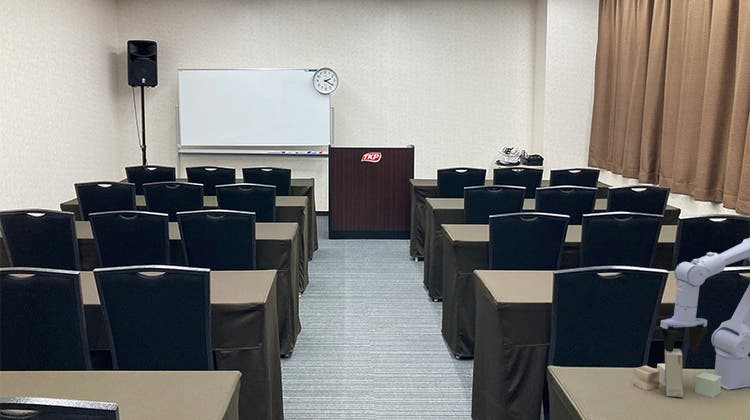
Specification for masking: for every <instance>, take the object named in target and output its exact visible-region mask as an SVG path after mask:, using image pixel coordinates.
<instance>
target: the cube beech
mask: <svg viewBox="0 0 750 420" xmlns="http://www.w3.org/2000/svg"><path fill="white" fill-rule="evenodd" d="M659 377H660V371H658V370H657V368H653V367H651V366H648V365H643V366H639V367H634V368H633V377H632V385H633V384H635V385H637V386H639V387H638V388H640V387H641V388H640V389H642V388H643V389H642V390H644V389H646V390H647V391H650V390H649V389H651V390H654V388H655V389H659V387H660V382H659ZM635 385H634V386H635ZM637 386H636V387H637ZM646 390H645V391H646Z"/></svg>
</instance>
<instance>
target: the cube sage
mask: <svg viewBox="0 0 750 420" xmlns="http://www.w3.org/2000/svg"><path fill="white" fill-rule="evenodd" d="M721 388H722V387H721V376H718V375H715V373H714V374H713V373H711V372H710V373H709V372H706V371H702V372H701V373H699V374H697V375H696V377H695V388H694V393H695V394H697V395H701V396H705V397H709V398H712V399H714V398H716V396H718V395H720V394H721Z"/></svg>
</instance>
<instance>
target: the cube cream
mask: <svg viewBox="0 0 750 420" xmlns="http://www.w3.org/2000/svg"><path fill="white" fill-rule="evenodd" d="M656 370H658V371H660V377H659V384H661V385H662V386H663V385H664V386H663V387H665V363H657V365H656Z"/></svg>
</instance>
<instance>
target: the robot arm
mask: <svg viewBox="0 0 750 420" xmlns="http://www.w3.org/2000/svg"><path fill="white" fill-rule="evenodd" d="M745 259H748V261H749V262H750V237H748V238H745V239H743V241H741V243H740V244H737V245H735V246H733V247H731V248H729V249H727V250H725V251H723V252H721V253H717V252H711V251H709V252H706V255H704V256H701V257H700V258H694V259H692V260H691V261H690V262H688V261H683V262H682V261H681V263H679V264H677V266H676V268H675V270H673V276H674V278H675V280H676V283H675V285H676V294H675V302H674V303H675V304H674V311H673V316H671V318H666V319H661V320H660V324H659V326H658V330H659V332H660V334H661V336H662V339H663V344H664V345H663V346H664V351H665V350H666V351H669V352H673V349H675V348H674V347H675V341H676V338H677V336H678V334H679V331H677V330H675V328H688V336H689V339H688V351H692V352H695V353H696V352H697V350H698V348H699V345H700V343H701V341H702V339H703V338H704V337H705V335H706V334H707V333H708V331H709V330H708V328H707V326H708V319H705V318H702V317H701V318H700V317H698V318H697V310H698V302H699V293H700V286H701V285H703V284H704V283H705V280H706V279H708V278H709V277H712V276H714V275H717V274H719V273H721V272H723V271H724V270H725V269H726V266H727V265H730V264H733V263H737V262H739V261H742V260H745ZM710 339H711V344H712V346H713V347H714V352H716V354H715V366H714V375H718V376H721V388H723V389H725V390H727V391H729V390H736V389H742V388H748V387H749V388H750V356H749V354H750V283H749V284H748V287H747V288H746V291H745V292H744V294H743V296H742V298H741V299H740V302H739V303H738V305H737V307H736V309H735V310H734V313H733V315H732V316H731V318H730V319H729V320H728V319H727V320H726V321H723V322H721V324H720V325H719V327H718V328H717V329H715V330H714V332H713V333H712V334H711V338H710Z"/></svg>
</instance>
